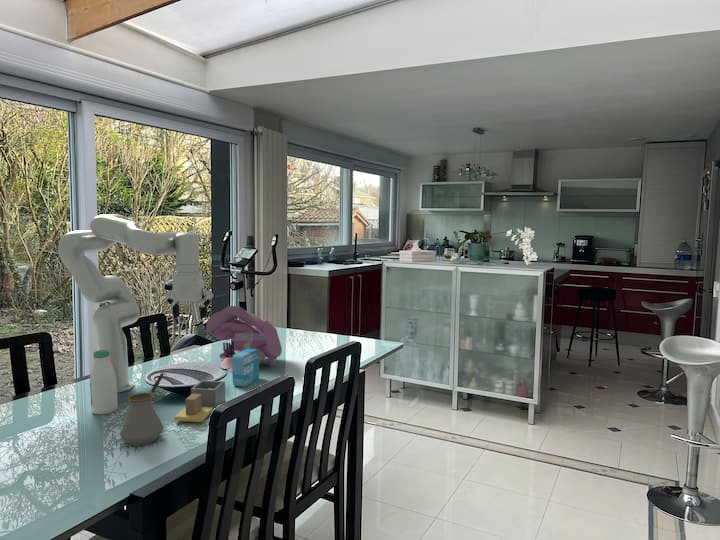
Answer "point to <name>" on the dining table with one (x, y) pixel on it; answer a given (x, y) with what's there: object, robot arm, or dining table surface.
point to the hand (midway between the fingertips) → (189, 317)
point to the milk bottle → (103, 384)
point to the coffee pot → (142, 419)
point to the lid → (193, 410)
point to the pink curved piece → (244, 334)
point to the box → (210, 392)
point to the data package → (245, 367)
